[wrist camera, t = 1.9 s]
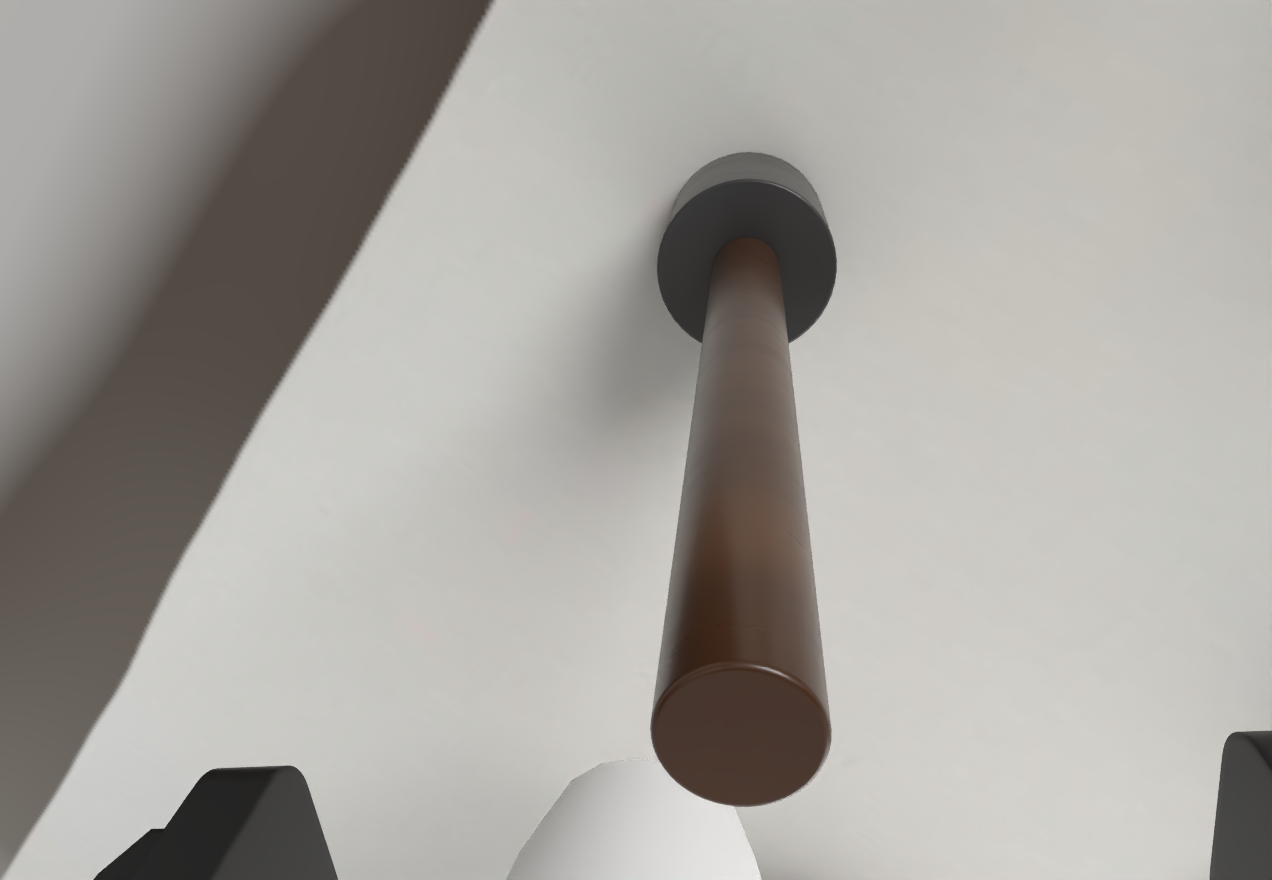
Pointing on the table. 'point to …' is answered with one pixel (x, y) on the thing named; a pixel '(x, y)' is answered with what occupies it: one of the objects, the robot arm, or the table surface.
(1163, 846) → the table surface
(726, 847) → the white tall cylinder
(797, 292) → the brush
